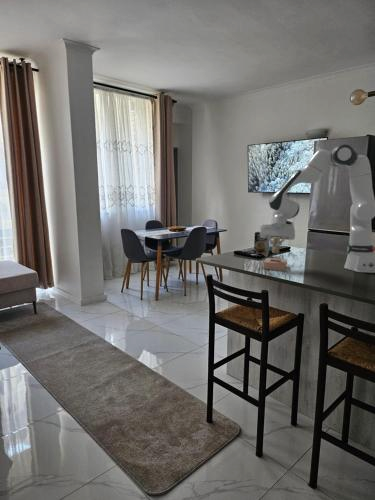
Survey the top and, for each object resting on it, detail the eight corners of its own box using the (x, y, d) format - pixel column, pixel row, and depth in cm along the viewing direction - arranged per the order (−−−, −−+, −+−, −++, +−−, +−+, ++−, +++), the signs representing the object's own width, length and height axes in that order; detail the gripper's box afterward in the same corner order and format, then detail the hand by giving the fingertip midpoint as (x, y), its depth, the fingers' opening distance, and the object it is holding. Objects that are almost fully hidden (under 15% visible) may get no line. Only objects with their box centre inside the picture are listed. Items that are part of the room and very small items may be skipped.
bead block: (286, 265, 206) (286, 259, 205) (284, 270, 195) (285, 263, 194) (266, 264, 210) (266, 257, 209) (263, 268, 199) (263, 262, 198)
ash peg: (279, 252, 202) (280, 237, 200) (278, 253, 198) (279, 238, 197) (272, 251, 203) (273, 236, 202) (271, 253, 200) (272, 237, 198)
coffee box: (253, 255, 235) (254, 232, 232) (256, 254, 240) (256, 231, 237) (266, 257, 231) (267, 233, 228) (269, 255, 236) (270, 232, 233)
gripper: (260, 221, 208) (257, 239, 200) (296, 222, 200) (293, 241, 193) (261, 227, 212) (258, 245, 205) (296, 229, 205) (293, 248, 198)
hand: (275, 243), depth 199 cm, fingers closed on ash peg, 4 cm apart
